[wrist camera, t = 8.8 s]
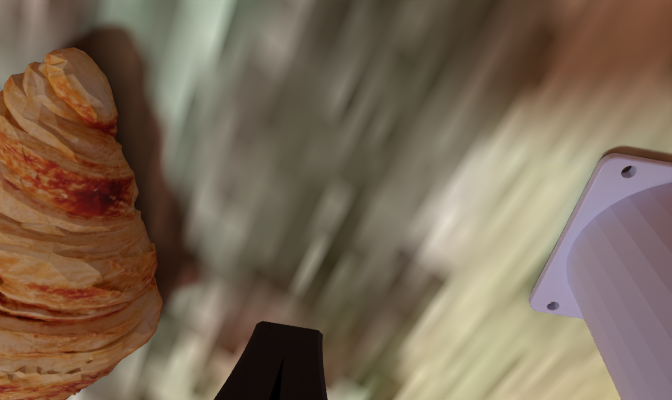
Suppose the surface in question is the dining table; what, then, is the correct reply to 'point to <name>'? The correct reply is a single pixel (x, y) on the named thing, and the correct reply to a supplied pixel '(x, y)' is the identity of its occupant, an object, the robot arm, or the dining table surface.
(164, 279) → the dining table surface
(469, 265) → the dining table surface
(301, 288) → the dining table surface
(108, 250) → the croissant
